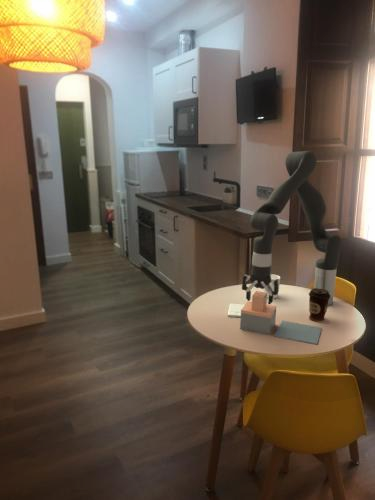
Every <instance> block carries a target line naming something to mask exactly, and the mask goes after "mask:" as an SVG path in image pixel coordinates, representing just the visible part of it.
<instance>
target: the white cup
mask: <svg viewBox="0 0 375 500" xmlns="http://www.w3.org/2000/svg"><path fill="white" fill-rule="evenodd" d="M271 279H275V280H276V279H278V280H279V284H278V294H277V295H273V299H277V298H278V297H279V292H280V286H281V285H280V284H281V276H280V275H277V274H273V273H271ZM269 285H270V286H271V289H272V290H273V291H274V285H273V284H272V282H271V283H270V284H269ZM263 292H266V293H267V299H269V293H268V292H267V291H266V290H265V288H264V289H263Z"/></svg>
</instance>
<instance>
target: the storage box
mask: <svg viewBox="0 0 375 500" xmlns="http://www.w3.org/2000/svg"><path fill="white" fill-rule="evenodd" d="M276 316H277V309H276V310H275V312H274V314H273V315H272V317H271V318H266V317H261V316H256V315H250V314H245V313H241V318H240V323H239V329H240V330H244V331H249V332H254V333H259V334H264V335H269V336H270V335H271V333H272V331H273V329H274V327H275V326H276V319H277V318H276Z"/></svg>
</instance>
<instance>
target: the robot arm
mask: <svg viewBox="0 0 375 500" xmlns="http://www.w3.org/2000/svg"><path fill="white" fill-rule="evenodd" d="M284 163H285V168H286V172H287V173H288V175H289V177H288V178H287V179H285V180H284V181H283V182H281V184H279V185H278V186H277V187H275V189H274V190H273V191H272V193H271V194H270V195H269V197H268V198H267V200H266V201H265V202H264V203H263V204H262V205H261V206H260V207H259V208H257V209H256V210H255V211H254V212H253V214H252V215H251V218H250V227H251V228H252V229H253V230H256V231H261V232H263V235H260V236H256V237H255V238H254V239H253V247H252V248H253V252H252V258H251V271H250V272H251V274H250V275H248V274H244V275H243V277H242V284H241V290H242V291H245V292H246V294H245V295H246V296H245V298H246V300H247V302H248V301H249V302H251V300H252V296H251V295H252V291H251V290H252V289H253V288H254V287H255V289H261V290H264V288H265V290H266V291H267V292H268V293H269V298H268V300H267V301H268V304H267V305H271V304H272V303H273V301H274V298H273V295H277V294H278V295H279V292H278V284H279V280H278V279H276V280H275V279H271V274H272V273H271V272H272V260H273V257H272V252H273V241H274V239H275V235H276V233H277V230H278V227H279V219H278V216H277V215H279V214H281V213H282V211H283V210H284V209H285V208H286V205H287V204H288V202H289V200H291V197H292V196H293V195H294V194H295V192H296V193H297V195H298V197H299V200H300V203H301V206H302V207H301V208H302V209H303V210H302V211H303V213H304V215H305V217H306V220H307V223H308V227H309V229H310V230H309V231H310V233H311V237H312V241H313V245H314V248H315V249H316V251H319V252H321V253H324V254H325V255H324V258H318V259H317V260H316V262H315V270H314V271H315V272H314V281H313V282H314V283H313V288H318V289H324V290H327V291H328V292H329V294H330V299H329V301H328V306H331V305H334V304H333V303H334V296H335V289H336V288H335V286H336V277H337V270H338V269H337V268H338V264H339V262H340V258H341V250H342V244H343V241H342V238H341V236H340V235H338V234H334V233H331V232H327V230H326V229H325V225H324V219H325V218H326V217H325V216H326V214H327V207H326V206H327V205H326V201H325V199H324V197H323V194H322V193H321V192H320V191H319V190H318V188H316V187H315V186H314V185H313V184H312V183H311V182H310V181H309V179H308V178H309V177H310V175H311V174H313V172H314V170H315V169H316V166H317V157H316V154H315V153H314V152H312V151H308V150H303V151H300V150H299V151H292V152H289V153H288V154H287V155H286V157H285V162H284ZM249 280H250V282H251V284H250V285H249V286H247V284H248V281H249ZM271 282H272V284H273V285H274V291H273V290H272V289H271V286H270V285H269V284H270V283H271Z"/></svg>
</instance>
